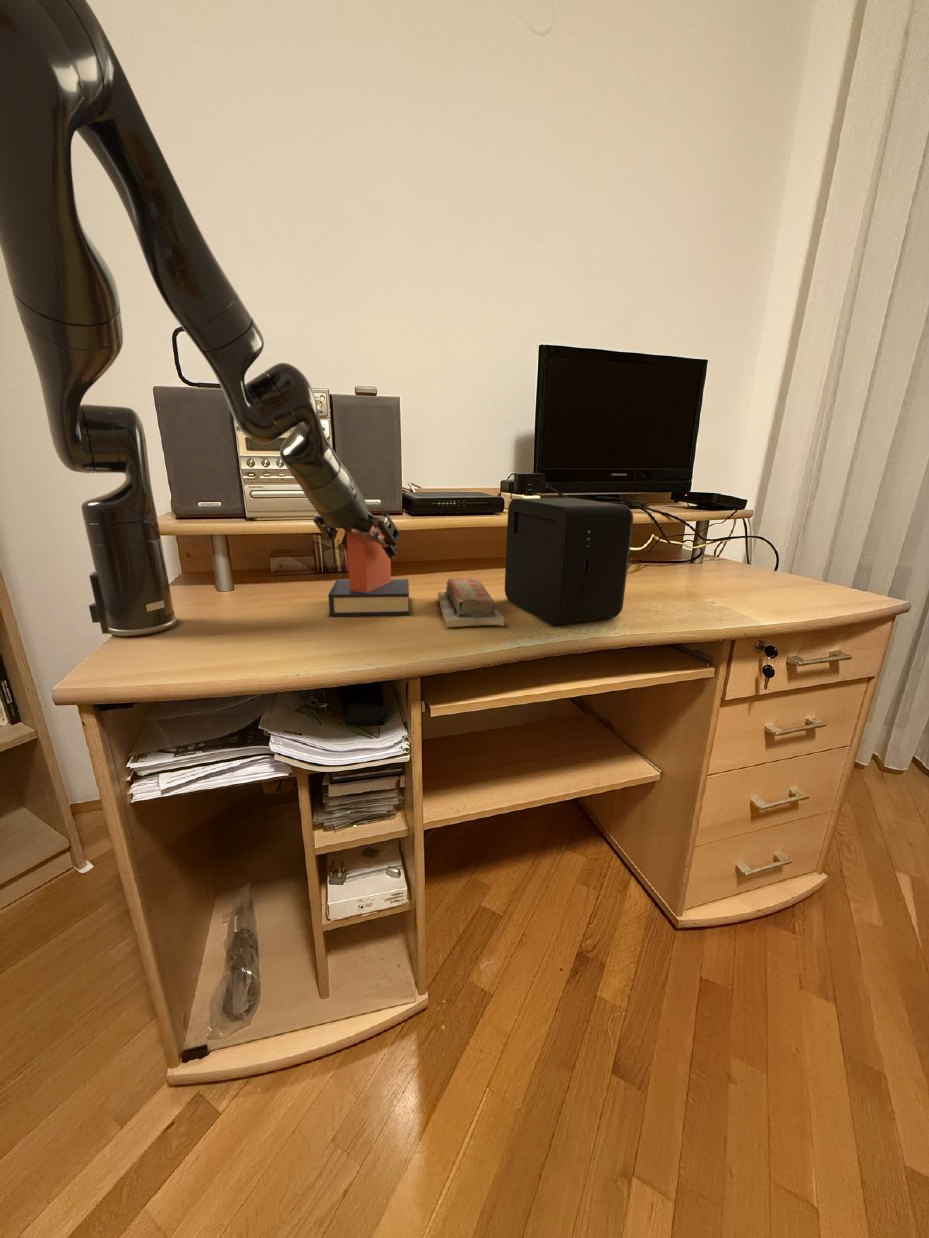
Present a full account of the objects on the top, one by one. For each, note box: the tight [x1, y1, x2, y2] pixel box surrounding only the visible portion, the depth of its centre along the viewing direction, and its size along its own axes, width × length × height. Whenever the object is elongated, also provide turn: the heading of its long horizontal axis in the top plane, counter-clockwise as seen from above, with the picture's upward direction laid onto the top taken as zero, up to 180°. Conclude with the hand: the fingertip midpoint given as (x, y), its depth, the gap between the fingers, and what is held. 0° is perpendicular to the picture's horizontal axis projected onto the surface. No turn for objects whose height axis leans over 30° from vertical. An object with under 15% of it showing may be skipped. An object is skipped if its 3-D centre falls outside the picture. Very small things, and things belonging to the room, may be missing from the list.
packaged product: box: [437, 577, 505, 628], centre depth 90 cm, size 18×5×10 cm
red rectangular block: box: [347, 526, 392, 593], centre depth 89 cm, size 9×4×11 cm, turn 160°
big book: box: [327, 578, 410, 617], centre depth 92 cm, size 14×11×4 cm
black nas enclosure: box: [504, 497, 634, 626], centre depth 90 cm, size 20×15×20 cm
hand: (373, 552), depth 91 cm, fingers open, 8 cm apart
